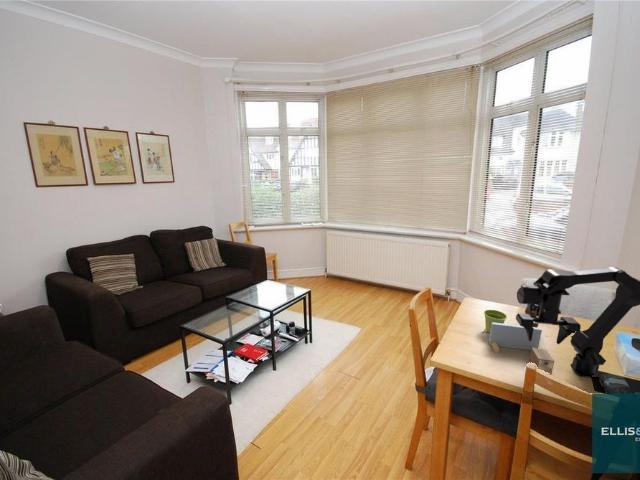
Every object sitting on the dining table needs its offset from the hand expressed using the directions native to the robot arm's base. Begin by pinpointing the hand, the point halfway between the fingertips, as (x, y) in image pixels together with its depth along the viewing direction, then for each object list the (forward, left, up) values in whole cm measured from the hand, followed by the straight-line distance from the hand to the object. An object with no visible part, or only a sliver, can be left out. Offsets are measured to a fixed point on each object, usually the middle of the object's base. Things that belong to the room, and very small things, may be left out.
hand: (543, 342), depth 115 cm
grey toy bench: (+6, -9, -11) cm, 15 cm away
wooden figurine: (-5, -28, -11) cm, 31 cm away
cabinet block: (0, 0, -11) cm, 11 cm away
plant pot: (+11, -23, -11) cm, 28 cm away
